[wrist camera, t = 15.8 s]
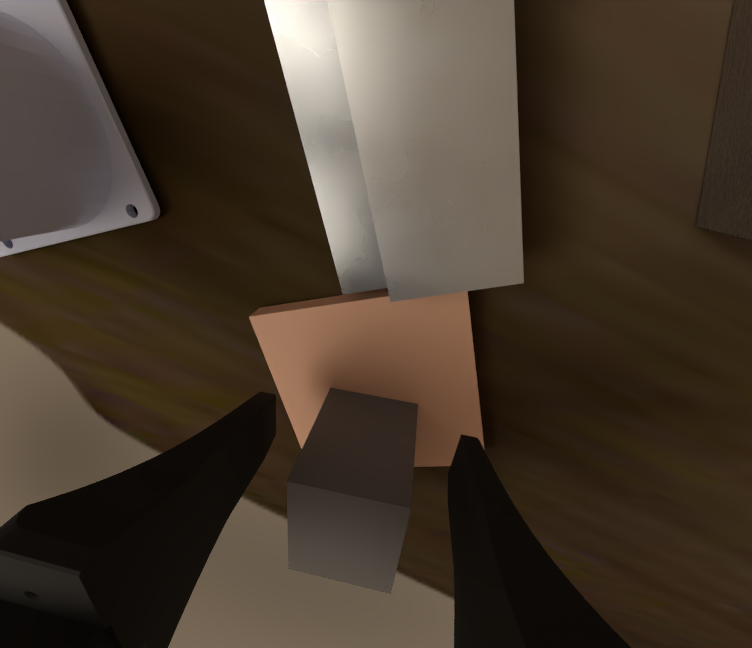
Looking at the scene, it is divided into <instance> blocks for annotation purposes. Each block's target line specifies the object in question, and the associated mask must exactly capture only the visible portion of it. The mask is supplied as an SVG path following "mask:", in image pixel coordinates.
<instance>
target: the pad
mask: <svg viewBox="0 0 752 648" xmlns="http://www.w3.org/2000/svg"><path fill="white" fill-rule="evenodd" d="M249 319H250V321H251V324H252V326H253V329H254V331H255V334H256V336H257V339H258V341H259V344H260V346H261V349H262V351H263V354H264V356H265V359H266V361H267V364H268V366H269V369H270V371H271V374H272V376H273V379H274V381H275V384H276V386H277V389H278V391H279V394H280V396H281V399H282V401H283V404H284V406H285V409H286V411H287V414H288V416H289V419H290V421H291V424H292V426H293V429H294V431H295V434H296V436H297V439H298V441H299V444H300V446H301V449H302V448H303V446H304V443H305V441H306V439H307V437H308V435H309V433H310V430H311V428H312V426H313V424H314V422H315V420H316V418H317V415H318V413H319V411H320V409H321V407H322V405H323V402H324V400H325V398H326V396H327V394H328V392H329V390H330V387H331V388H336V389H341V390H347V391H352V392H357V393H363V394H368V395H373V396H379V397H384V398H389V399H394V400H400V401H405V402H410V403H416V404H418V414H417V429H416V444H415V459H414V467H432V466H451V463H452V460H453V457H454V454H455V451H456V448H457V445H458V442H459V439H460V436H461V434H462V435H467V436H472V437H476V438H478V439H479V440H480V442H481V444H482V446H483V448H484V440H483V431H482V421H481V412H480V403H479V393H478V384H477V375H476V365H475V356H474V347H473V337H472V328H471V319H470V309H469V300H468V291H465V292H458V293H451V294H444V295H437V296H430V297H423V298H416V299H409V300H402V301H395V302H390V298H389V293H388V289H387V288H385V289H379V290H372V291H365V292H359V293H352V294H346V295H339V296H333V297H326V298H320V299H313V300H307V301H300V302H294V303H287V304H280V305H274V306H267V307H261V308H259V309H258V310H256V311H255V312H254V313H253V314H252V315H250V316H249ZM484 451H485V449H484Z"/></svg>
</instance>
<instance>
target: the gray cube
mask: <svg viewBox="0 0 752 648" xmlns="http://www.w3.org/2000/svg"><path fill="white" fill-rule="evenodd" d="M417 414H418V404H416V403H410V402H405V401H400V400H394V399H389V398H384V397H379V396H373V395H368V394H363V393H357V392H352V391H347V390H341V389H336V388H331V387H330V390H329V392H328V394H327V396H326V398H325V400H324V402H323V405H322V407H321V409H320V411H319V413H318V415H317V418H316V420H315V422H314V424H313V426H312V428H311V430H310V433H309V435H308V437H307V439H306V441H305V443H304V446H303V448H302V450H301V452H300V454H299V456H298V459H297V461H296V463H295V465H294V467H293V469H292V471H291V474H290V476H289V478H288V480H287V513H288V562H289V569H292V570H296V571H300V572H304V573H308V574H312V575H317V576H321V577H325V578H329V579H333V580H337V581H341V582H345V583H349V584H354V585H358V586H362V587H366V588H370V589H374V590H378V591H382V592H386V593H391V590H392V586H393V582H394V577H395V573H396V569H397V565H398V561H399V557H400V553H401V549H402V544H403V540H404V536H405V532H406V528H407V524H408V520H409V515H410V511H411V503H412V488H413V474H414V459H415V444H416V429H417Z"/></svg>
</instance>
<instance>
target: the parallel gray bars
mask: <svg viewBox="0 0 752 648" xmlns="http://www.w3.org/2000/svg"><path fill="white" fill-rule="evenodd" d="M264 2H265V6H266V9H267V13H268V17H269V21H270V24H271V28H272V32H273V35H274V39H275V43H276V47H277V50H278V54H279V58H280V62H281V65H282V69H283V73H284V77H285V80H286V84H287V88H288V92H289V95H290V99H291V103H292V106H293V110H294V114H295V118H296V121H297V125H298V129H299V133H300V136H301V140H302V144H303V148H304V151H305V155H306V159H307V162H308V166H309V170H310V174H311V177H312V181H313V185H314V189H315V192H316V196H317V200H318V204H319V207H320V211H321V215H322V219H323V222H324V226H325V230H326V233H327V237H328V241H329V245H330V248H331V252H332V256H333V260H334V263H335V267H336V271H337V275H338V278H339V282H340V286H341V289H342V293H343V295H344V294H351V293H357V292H364V291H370V290H377V289H383V288H387V289H388V293H389V298H390V302H395V301H402V300H409V299H416V298H423V297H430V296H437V295H444V294H451V293H458V292H465V291H472V290H479V289H486V288H493V287H500V286H507V285H514V284H521V283H524V272H523V244H522V215H521V186H520V157H519V129H518V100H517V71H516V42H515V14H514V0H264ZM696 227H700V228H705V229H709V230H713V231H717V232H721V233H725V234H729V235H734V236H738V237H742V238H746V239H750V240H752V0H734V6H733V12H732V17H731V23H730V29H729V35H728V41H727V47H726V53H725V58H724V64H723V70H722V76H721V82H720V88H719V94H718V99H717V105H716V111H715V117H714V123H713V129H712V135H711V140H710V146H709V152H708V158H707V164H706V170H705V176H704V182H703V187H702V193H701V199H700V205H699V211H698V217H697V223H696Z"/></svg>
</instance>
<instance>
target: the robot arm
mask: <svg viewBox="0 0 752 648" xmlns="http://www.w3.org/2000/svg"><path fill="white" fill-rule="evenodd" d="M134 206H135V207H136V209H137V211H138V215H137V214H136V213H135V211H134ZM159 215H160V208H159V205H158V202H157V200H156V198H155V196H154V194H153V191H152V189H151V187H150V185H149V182H148V180H147V178H146V176H145V174H144V171H143V169H142V167H141V165H140V163H139V160H138V158H137V156H136V154H135V151H134V149H133V147H132V145H131V143H130V140H129V138H128V136H127V134H126V132H125V129H124V127H123V125H122V123H121V121H120V118H119V116H118V114H117V112H116V109H115V107H114V105H113V103H112V101H111V98H110V96H109V94H108V92H107V90H106V87H105V85H104V83H103V81H102V79H101V76H100V74H99V72H98V70H97V67H96V65H95V63H94V61H93V59H92V56H91V54H90V52H89V50H88V48H87V45H86V43H85V41H84V39H83V36H82V34H81V32H80V30H79V28H78V25H77V23H76V21H75V19H74V17H73V14H72V12H71V10H70V8H69V6H68V3H67V1H66V0H0V257H3V256H7V255H11V254H16V253H20V252H24V251H28V250H32V249H36V248H40V247H45V246H49V245H53V244H57V243H61V242H65V241H69V240H74V239H78V238H82V237H86V236H90V235H94V234H98V233H103V232H107V231H111V230H115V229H119V228H123V227H127V226H132V225H136V224H140V223H144V222H148V221H152V220H155V219H157V218H158V217H159ZM275 434H276V395H275V394H270V393H265V392H259V393H258V394H256V395H255V396H253V397H252V398H250V399H249V400H248V401H246V402H245V403H243V404H242V405H240V406H239V407H238V408H236V409H235V410H233V411H232V412H230V413H229V414H227V415H226V416H224V417H223V418H221V419H220V420H218V421H217V422H215V423H214V424H212V425H211V426H209V427H208V428H206V429H204V430H203V431H201V432H199V433H198V434H196V435H195V436H193V437H191V438H190V439H188V440H186V441H185V442H183V443H181V444H179V445H177V446H176V447H174V448H172V449H170V450H168V451H166V452H164V453H162V454H160V455H158V456H156V457H154V458H152V459H150V460H148V461H145V462H143V463H141V464H139V465H137V466H134V467H132V468H130V469H128V470H125V471H123V472H121V473H118V474H116V475H113V476H111V477H108V478H107V479H103V480H101V481H99V482H96V483H93V484H90V485H88V486H85V487H82V488H79V489H76V490H74V491H71V492H68V493H65V494H61V495H59V496H56V497H53V498H49V499H46V500H43V501H40V502H37V503H33V504H30V505H27V506H25V507H24V508H23V509H22V510H21V511H19V512H18V513H17V514H16V515H14V516H13V517H12V518H11V519H10V520H9V521H7V522H6V523H5V524H4V525H3V526H1V527H0V648H168V646H169V644H170V641H171V639H172V637H173V634H174V632H175V629H176V627H177V625H178V623H179V620H180V618H181V616H182V614H183V611H184V609H185V607H186V605H187V602H188V600H189V598H190V596H191V594H192V591H193V589H194V587H195V585H196V583H197V580H198V578H199V576H200V574H201V572H202V570H203V568H204V566H205V564H206V561H207V559H208V557H209V555H210V553H211V551H212V549H213V547H214V545H215V543H216V541H217V539H218V537H219V535H220V533H221V531H222V529H223V527H224V525H225V523H226V521H227V519H228V518H229V516H230V514H231V512H232V511H233V509H234V507H235V506H236V504H237V503H238V501H239V499H240V498H241V496H242V494H243V493H244V491H245V490H246V488H247V486H248V485H249V483H250V481H251V480H252V478H253V477H254V475H255V473H256V472H257V470H258V468H259V467H260V465H261V463H262V462H263V460H264V458H265V456H266V454H267V452H268V450H269V448H270V446H271V443H272V441H273V439H274V437H275ZM448 509H449V520H450V532H451V543H452V554H453V565H454V600H455V619H454V648H631V647H630V646H629V645H628V644H627V643H626V642H625V641H624V640H623V639H622V638H621V637H620V636H619V635H618V634H617V633H616V632H615V631H614V630H613V629H612V628H611V627H610V626H609V625H608V624H607V623H606V622H605V621H604V620H603V618H602V617H601V616H600V615H599V614H598V613H597V612H596V611H595V610H594V609H593V608H592V606H591V605H590V604H589V603H588V602H587V601H586V600H585V599H584V598H583V596H582V595H581V594H580V593H579V592H578V591H577V589H576V588H575V587H574V586H573V585H572V583H571V582H570V581H569V580H568V579H567V577H566V576H565V575H564V574H563V573H562V571H561V570H560V569H559V568H558V567H557V565H556V564H555V563H554V562H553V560H552V559H551V558H550V556H549V555H548V554H547V552H546V551H545V550H544V548H543V547H542V546H541V544H540V543H539V542H538V540H537V539H536V537H535V536H534V535H533V533H532V532H531V530H530V529H529V527H528V526H527V524H526V523H525V521H524V520H523V518H522V517H521V515H520V513H519V512H518V510H517V509H516V507H515V505H514V504H513V502H512V500H511V499H510V497H509V495H508V494H507V492H506V490H505V488H504V487H503V485H502V483H501V481H500V480H499V478H498V476H497V474H496V472H495V470H494V468H493V466H492V465H491V463H490V461H489V459H488V457H487V455H486V453H485V451H484V448H483V446H482V444H481V442H480V440H479V439H478V438H476V437H472V436H467V435H462V434H461V436H460V439H459V442H458V445H457V448H456V451H455V454H454V457H453V460H452V463H451V466H450V469H449V472H448Z"/></svg>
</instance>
